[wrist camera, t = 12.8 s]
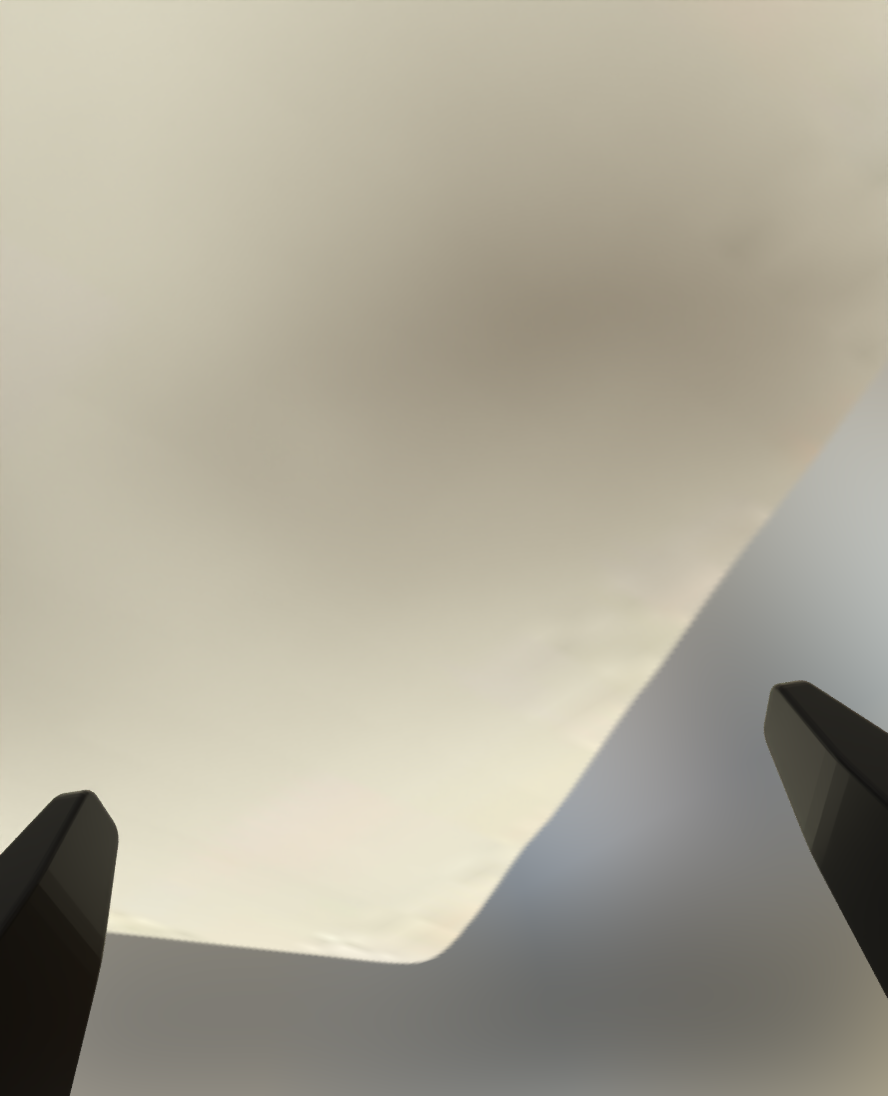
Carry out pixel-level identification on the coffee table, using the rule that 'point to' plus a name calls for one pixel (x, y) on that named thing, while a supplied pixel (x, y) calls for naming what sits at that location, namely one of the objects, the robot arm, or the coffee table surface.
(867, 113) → the coffee table surface
